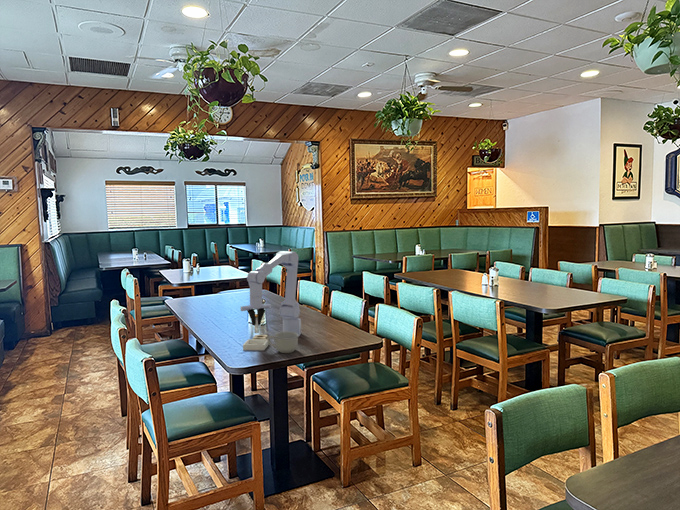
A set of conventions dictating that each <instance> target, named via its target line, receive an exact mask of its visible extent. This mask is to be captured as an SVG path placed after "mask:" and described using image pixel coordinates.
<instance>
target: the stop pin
mask: <svg viewBox="0 0 680 510" xmlns="http://www.w3.org/2000/svg"><path fill="white" fill-rule="evenodd" d="M258 316H259V314H257V313H255V325H253V327H254V328H253V330H254V334H259V333H260V331H259V328H260V327H259V326H260V325H259V322H258Z"/></svg>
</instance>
